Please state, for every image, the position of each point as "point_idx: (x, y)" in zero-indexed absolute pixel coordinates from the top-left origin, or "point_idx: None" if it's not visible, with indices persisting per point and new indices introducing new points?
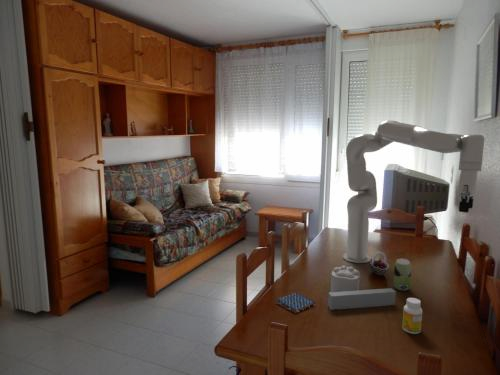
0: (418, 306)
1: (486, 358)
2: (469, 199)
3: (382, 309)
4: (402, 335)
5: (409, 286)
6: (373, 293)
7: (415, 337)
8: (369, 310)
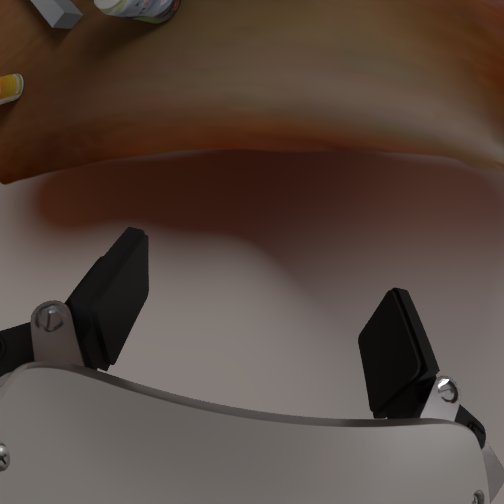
0: None
1: (12, 181)
2: (387, 393)
3: None
4: None
5: (150, 22)
6: (34, 4)
7: None
8: None
